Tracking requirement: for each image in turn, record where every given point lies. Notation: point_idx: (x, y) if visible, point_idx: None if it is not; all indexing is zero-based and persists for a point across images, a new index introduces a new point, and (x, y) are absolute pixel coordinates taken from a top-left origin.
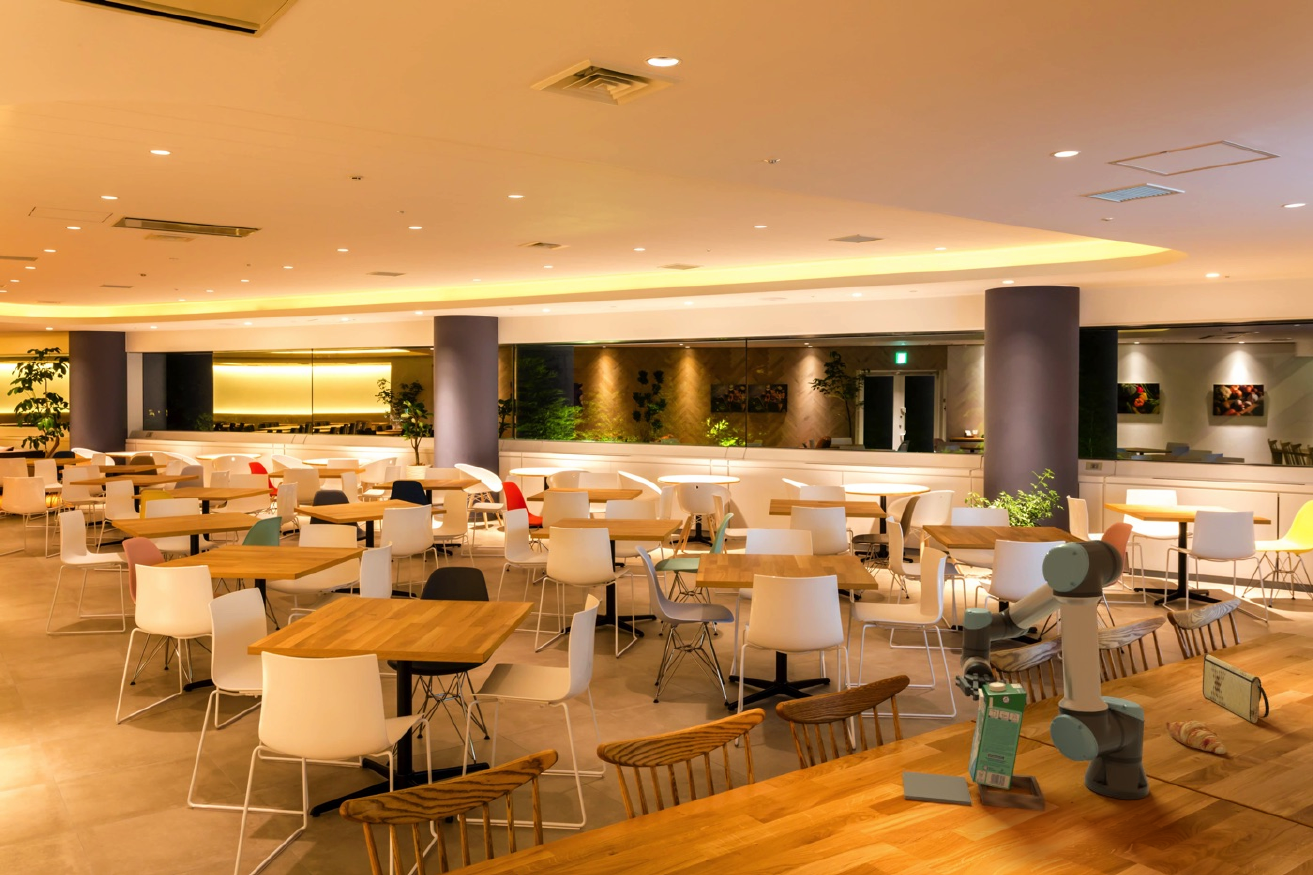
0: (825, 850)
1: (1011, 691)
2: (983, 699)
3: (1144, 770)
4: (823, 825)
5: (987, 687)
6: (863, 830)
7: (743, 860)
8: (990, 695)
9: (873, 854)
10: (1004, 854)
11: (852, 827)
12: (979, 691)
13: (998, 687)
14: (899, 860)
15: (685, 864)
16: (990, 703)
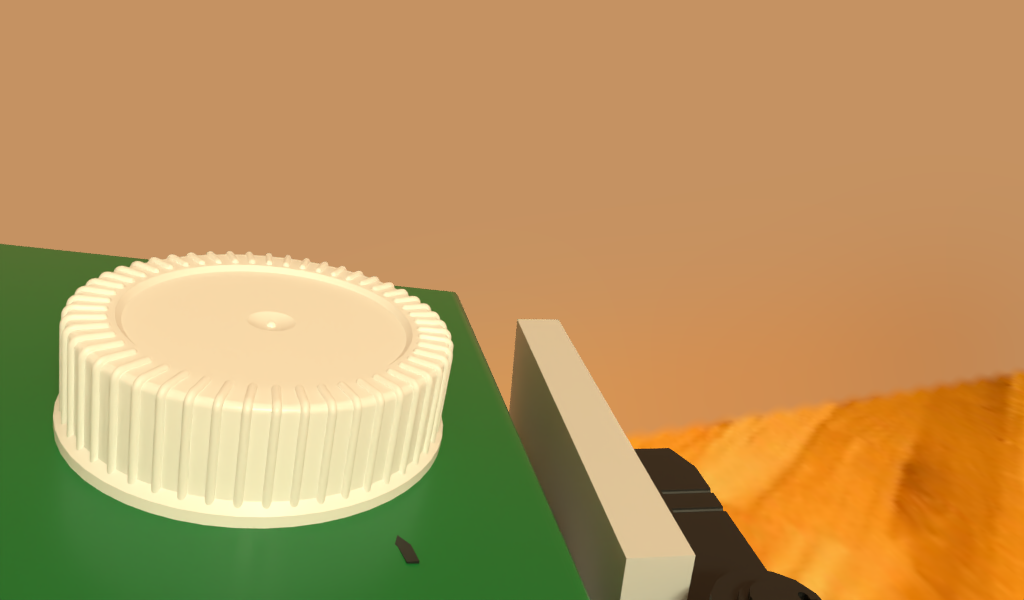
0: (845, 447)
1: (33, 300)
2: (514, 352)
3: None
4: (964, 547)
5: (486, 521)
6: (837, 549)
7: (953, 393)
8: (427, 295)
9: (729, 454)
10: None
11: (881, 557)
12: (619, 436)
13: (278, 272)
14: (655, 446)
15: (1020, 371)
16: None
